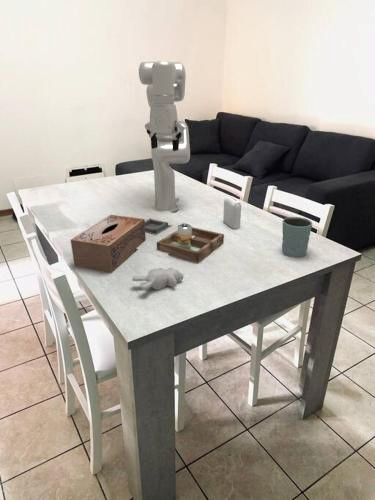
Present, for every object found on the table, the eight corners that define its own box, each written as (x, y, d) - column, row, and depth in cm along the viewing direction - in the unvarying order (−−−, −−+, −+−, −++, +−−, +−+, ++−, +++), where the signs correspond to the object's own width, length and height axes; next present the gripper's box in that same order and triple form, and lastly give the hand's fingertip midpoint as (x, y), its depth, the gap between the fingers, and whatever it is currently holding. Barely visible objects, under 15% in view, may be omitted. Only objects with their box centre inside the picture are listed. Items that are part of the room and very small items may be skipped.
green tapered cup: (303, 260, 127) (307, 228, 122) (275, 254, 132) (278, 223, 127) (310, 250, 135) (315, 219, 130) (284, 244, 140) (287, 214, 135)
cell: (181, 245, 136) (181, 220, 132) (193, 248, 134) (194, 223, 130) (174, 250, 132) (175, 225, 128) (187, 253, 130) (188, 228, 126)
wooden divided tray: (185, 234, 149) (185, 225, 147) (223, 243, 141) (223, 234, 139) (157, 252, 134) (156, 242, 132) (198, 263, 125) (198, 253, 124)
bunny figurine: (188, 273, 111) (144, 282, 103) (187, 288, 113) (143, 298, 104) (172, 262, 118) (130, 269, 110) (171, 276, 120) (129, 284, 112)
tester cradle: (149, 222, 161) (149, 217, 160) (172, 227, 155) (172, 222, 154) (132, 231, 152) (132, 225, 150) (155, 237, 146) (155, 231, 145)
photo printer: (221, 221, 162) (222, 194, 156) (230, 220, 163) (231, 193, 158) (232, 229, 153) (233, 201, 148) (241, 228, 154) (243, 200, 149)
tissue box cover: (113, 238, 146) (110, 214, 142) (145, 243, 142) (144, 219, 137) (74, 266, 124) (70, 239, 120) (111, 273, 120) (109, 245, 115)
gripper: (137, 100, 132) (140, 148, 139) (178, 101, 123) (178, 153, 131) (150, 99, 137) (152, 145, 145) (189, 100, 129) (189, 149, 137)
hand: (164, 149), depth 138 cm, fingers open, 9 cm apart
